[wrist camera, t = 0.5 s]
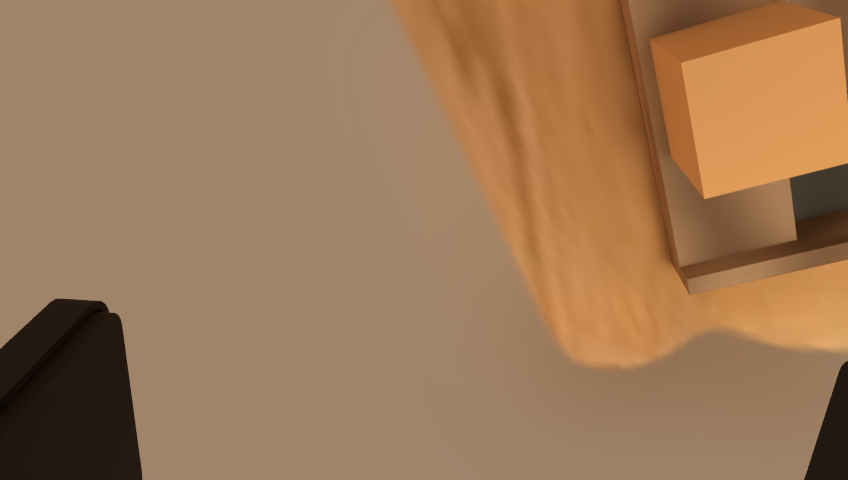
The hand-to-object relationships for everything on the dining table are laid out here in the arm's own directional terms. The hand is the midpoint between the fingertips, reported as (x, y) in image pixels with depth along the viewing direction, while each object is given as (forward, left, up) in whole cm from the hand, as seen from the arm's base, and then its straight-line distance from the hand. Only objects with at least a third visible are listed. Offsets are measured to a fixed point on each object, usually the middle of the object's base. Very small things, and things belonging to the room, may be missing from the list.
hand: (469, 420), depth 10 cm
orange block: (-9, +3, -22) cm, 24 cm away
